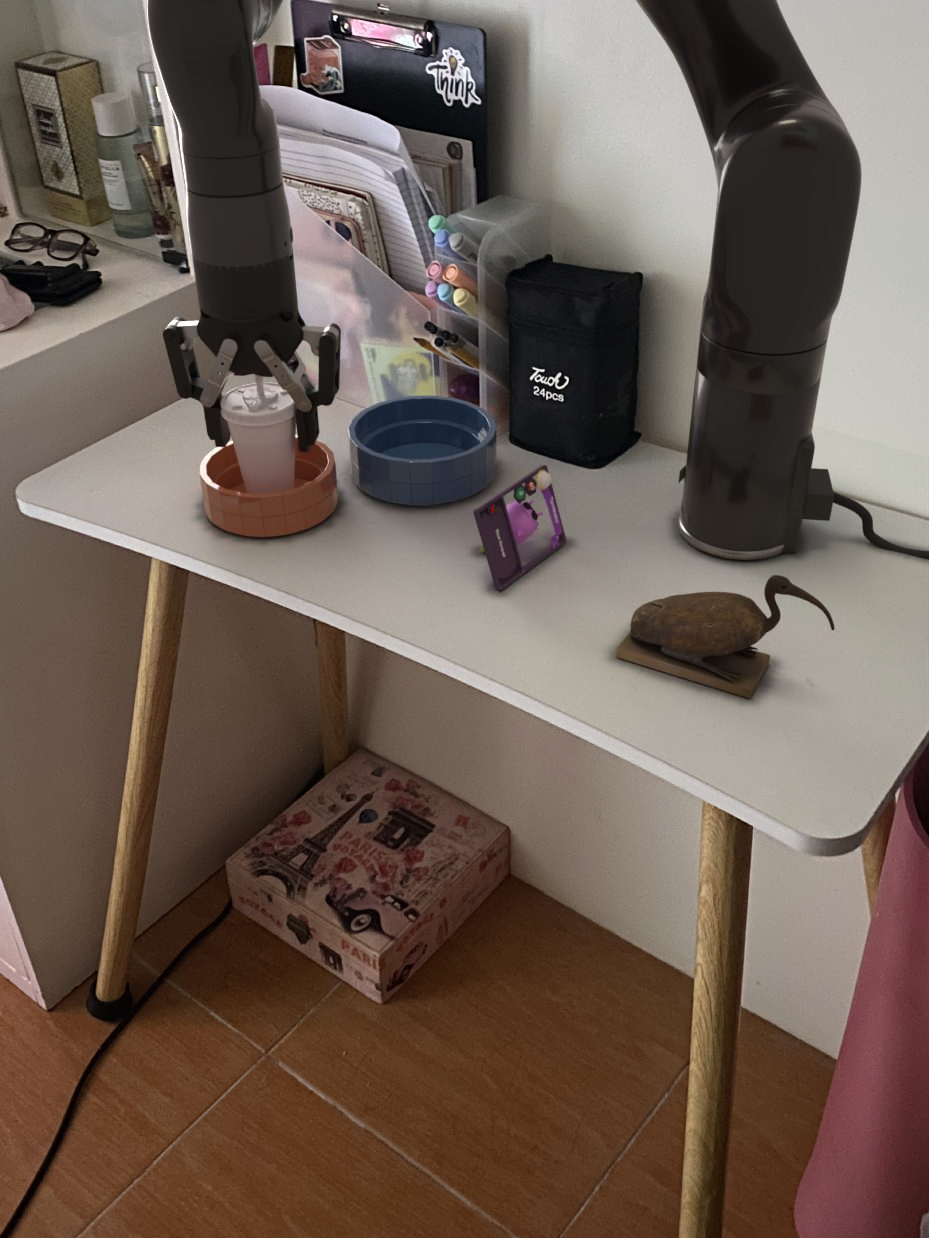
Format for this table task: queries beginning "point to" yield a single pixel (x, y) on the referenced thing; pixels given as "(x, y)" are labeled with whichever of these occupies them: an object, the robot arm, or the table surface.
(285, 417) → the smoothie
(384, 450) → the blue bowl
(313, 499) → the terracotta bowl
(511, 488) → the purple framed piece
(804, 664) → the table surface
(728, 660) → the figurine
